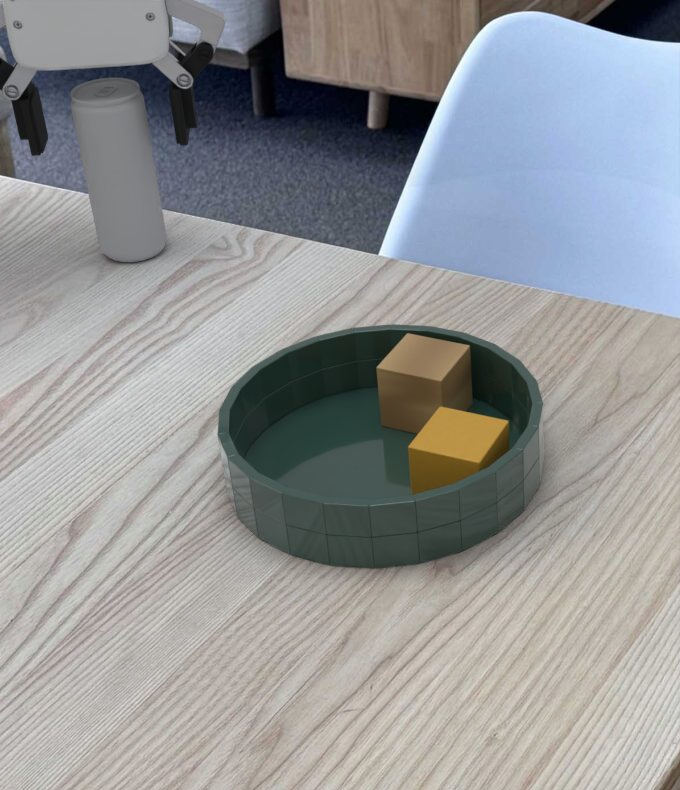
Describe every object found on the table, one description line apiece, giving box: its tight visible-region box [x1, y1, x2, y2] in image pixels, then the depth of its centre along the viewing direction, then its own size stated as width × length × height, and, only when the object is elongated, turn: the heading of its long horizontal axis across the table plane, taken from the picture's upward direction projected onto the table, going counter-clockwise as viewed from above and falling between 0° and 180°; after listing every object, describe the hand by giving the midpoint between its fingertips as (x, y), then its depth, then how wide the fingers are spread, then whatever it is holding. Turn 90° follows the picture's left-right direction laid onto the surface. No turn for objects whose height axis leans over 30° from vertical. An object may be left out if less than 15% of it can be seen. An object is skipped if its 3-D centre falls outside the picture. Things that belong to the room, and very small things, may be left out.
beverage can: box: [69, 77, 168, 263], centre depth 97 cm, size 5×5×12 cm
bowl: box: [216, 323, 545, 569], centre depth 76 cm, size 17×17×4 cm
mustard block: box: [408, 407, 510, 495], centre depth 73 cm, size 4×4×4 cm
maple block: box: [376, 333, 473, 434], centre depth 80 cm, size 4×4×4 cm
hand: (112, 142), depth 96 cm, fingers open, 9 cm apart
